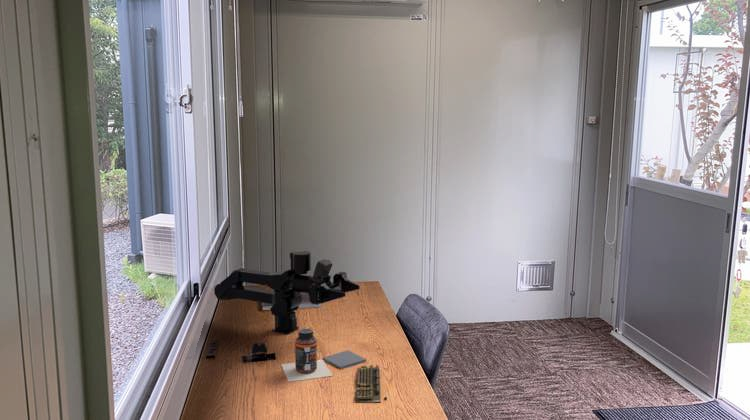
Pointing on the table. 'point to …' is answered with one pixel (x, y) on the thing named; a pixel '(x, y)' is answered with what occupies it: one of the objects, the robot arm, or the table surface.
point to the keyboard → (368, 385)
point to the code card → (297, 376)
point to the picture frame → (304, 304)
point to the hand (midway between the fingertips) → (352, 291)
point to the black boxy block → (259, 357)
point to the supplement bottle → (306, 351)
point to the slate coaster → (344, 359)
